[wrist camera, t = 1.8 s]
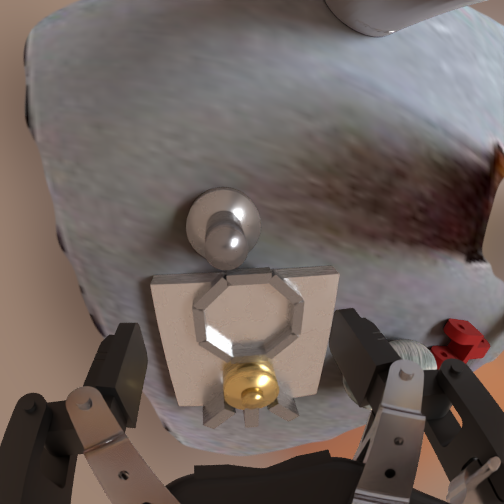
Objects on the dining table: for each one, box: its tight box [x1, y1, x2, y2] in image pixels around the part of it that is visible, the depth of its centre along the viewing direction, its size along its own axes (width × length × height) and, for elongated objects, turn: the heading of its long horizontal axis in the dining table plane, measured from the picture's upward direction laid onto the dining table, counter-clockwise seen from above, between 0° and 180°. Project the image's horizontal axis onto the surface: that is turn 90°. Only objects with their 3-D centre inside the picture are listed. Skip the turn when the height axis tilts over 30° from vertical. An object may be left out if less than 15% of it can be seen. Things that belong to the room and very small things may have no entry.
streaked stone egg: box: [343, 339, 437, 409], centre depth 32 cm, size 14×10×10 cm
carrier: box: [150, 266, 339, 429], centre depth 29 cm, size 21×18×6 cm
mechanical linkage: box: [430, 318, 490, 369], centre depth 36 cm, size 16×7×5 cm, turn 73°
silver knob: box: [186, 187, 261, 270], centre depth 23 cm, size 6×6×7 cm
